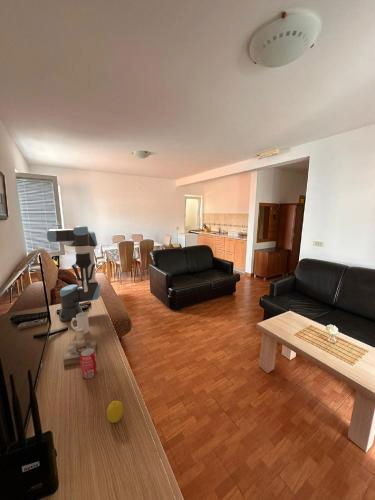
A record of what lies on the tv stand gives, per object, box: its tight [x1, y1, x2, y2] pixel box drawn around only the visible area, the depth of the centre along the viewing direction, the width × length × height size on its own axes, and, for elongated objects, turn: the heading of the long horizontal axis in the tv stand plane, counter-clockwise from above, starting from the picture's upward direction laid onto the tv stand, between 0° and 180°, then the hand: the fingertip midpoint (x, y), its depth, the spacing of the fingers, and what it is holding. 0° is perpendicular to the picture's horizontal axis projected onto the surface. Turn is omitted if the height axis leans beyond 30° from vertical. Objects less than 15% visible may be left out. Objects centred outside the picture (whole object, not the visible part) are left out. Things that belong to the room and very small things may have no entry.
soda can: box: [79, 348, 98, 379], centre depth 98 cm, size 7×7×12 cm
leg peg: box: [74, 329, 86, 352], centre depth 112 cm, size 4×4×14 cm
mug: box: [70, 311, 90, 335], centre depth 134 cm, size 10×7×12 cm, turn 120°
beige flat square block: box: [62, 338, 98, 367], centre depth 113 cm, size 14×14×4 cm
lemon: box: [106, 400, 124, 424], centre depth 76 cm, size 6×6×8 cm
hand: (86, 291), depth 126 cm, fingers closed
